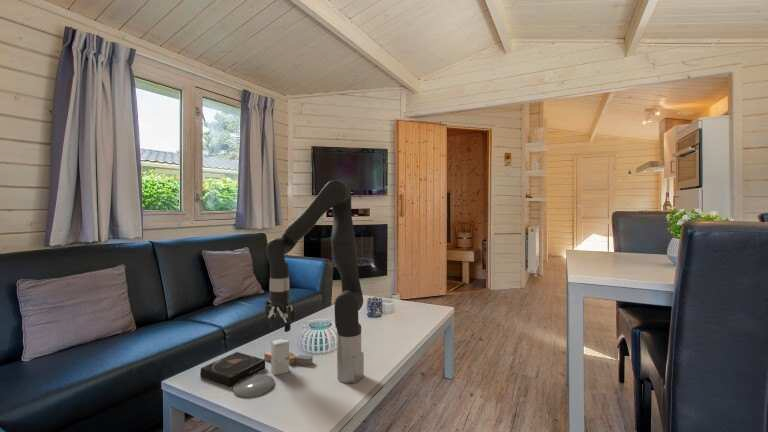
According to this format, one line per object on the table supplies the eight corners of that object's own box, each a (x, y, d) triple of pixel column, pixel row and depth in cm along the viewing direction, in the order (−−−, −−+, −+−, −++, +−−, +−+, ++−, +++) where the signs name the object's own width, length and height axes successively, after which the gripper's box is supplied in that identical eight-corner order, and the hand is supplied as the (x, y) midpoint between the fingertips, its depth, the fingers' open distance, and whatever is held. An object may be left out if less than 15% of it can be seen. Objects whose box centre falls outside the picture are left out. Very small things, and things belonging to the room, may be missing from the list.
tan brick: (296, 363, 145) (296, 356, 145) (290, 365, 143) (290, 358, 143) (290, 358, 150) (290, 351, 150) (284, 360, 148) (284, 353, 148)
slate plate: (282, 383, 129) (282, 380, 129) (249, 401, 117) (249, 398, 117) (257, 373, 136) (257, 371, 136) (224, 389, 125) (224, 387, 125)
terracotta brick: (279, 360, 148) (279, 353, 148) (273, 363, 146) (273, 356, 145) (270, 357, 151) (270, 350, 151) (264, 360, 149) (264, 353, 149)
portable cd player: (236, 360, 149) (235, 351, 149) (265, 369, 141) (265, 359, 141) (200, 377, 134) (199, 367, 134) (230, 388, 126) (230, 377, 126)
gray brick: (312, 363, 146) (312, 356, 146) (309, 366, 143) (309, 359, 143) (299, 361, 147) (299, 354, 147) (296, 364, 144) (295, 357, 144)
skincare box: (274, 375, 135) (273, 344, 134) (270, 371, 138) (270, 341, 138) (289, 371, 138) (289, 341, 138) (286, 367, 142) (285, 337, 141)
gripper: (299, 289, 136) (299, 330, 137) (275, 284, 144) (275, 323, 145) (284, 293, 130) (284, 336, 131) (259, 287, 138) (260, 328, 138)
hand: (279, 329), depth 138 cm, fingers open, 8 cm apart
